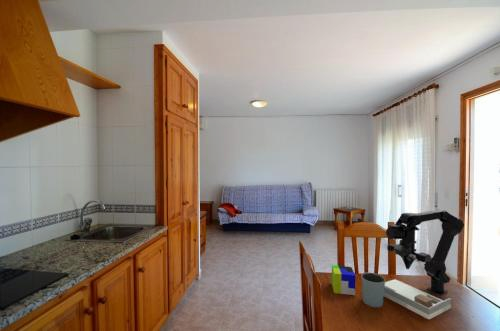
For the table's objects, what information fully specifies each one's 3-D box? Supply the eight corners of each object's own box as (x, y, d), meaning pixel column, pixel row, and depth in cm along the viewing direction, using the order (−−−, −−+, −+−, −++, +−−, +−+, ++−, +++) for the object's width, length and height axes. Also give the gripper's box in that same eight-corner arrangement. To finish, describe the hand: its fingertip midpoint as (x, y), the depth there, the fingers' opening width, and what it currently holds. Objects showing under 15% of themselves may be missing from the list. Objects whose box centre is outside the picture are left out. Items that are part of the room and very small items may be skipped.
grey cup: (383, 299, 118) (384, 274, 117) (385, 311, 108) (386, 284, 108) (360, 294, 122) (361, 270, 122) (360, 305, 113) (361, 279, 112)
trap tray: (394, 282, 134) (394, 274, 134) (450, 308, 111) (451, 298, 111) (373, 290, 126) (373, 281, 126) (428, 319, 103) (429, 309, 103)
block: (420, 300, 113) (420, 293, 113) (432, 306, 109) (432, 299, 109) (414, 303, 111) (414, 296, 111) (426, 309, 107) (426, 302, 107)
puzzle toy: (355, 295, 121) (355, 275, 121) (334, 293, 123) (334, 273, 123) (351, 285, 131) (351, 266, 131) (331, 283, 133) (331, 265, 133)
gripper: (380, 235, 128) (380, 264, 129) (418, 246, 112) (418, 280, 112) (394, 232, 133) (393, 261, 134) (432, 243, 117) (431, 275, 117)
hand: (407, 269), depth 124 cm, fingers closed
